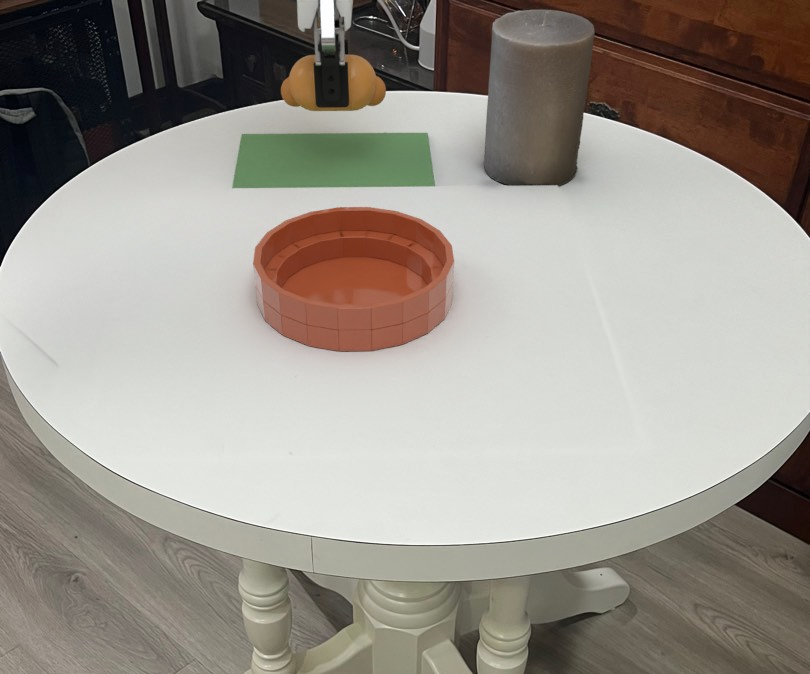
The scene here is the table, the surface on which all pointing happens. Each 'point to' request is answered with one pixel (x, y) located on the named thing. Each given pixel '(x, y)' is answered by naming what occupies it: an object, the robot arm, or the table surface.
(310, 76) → the croissant
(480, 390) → the table surface
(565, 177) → the pillar candle
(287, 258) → the terracotta round dish
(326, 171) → the cloth
